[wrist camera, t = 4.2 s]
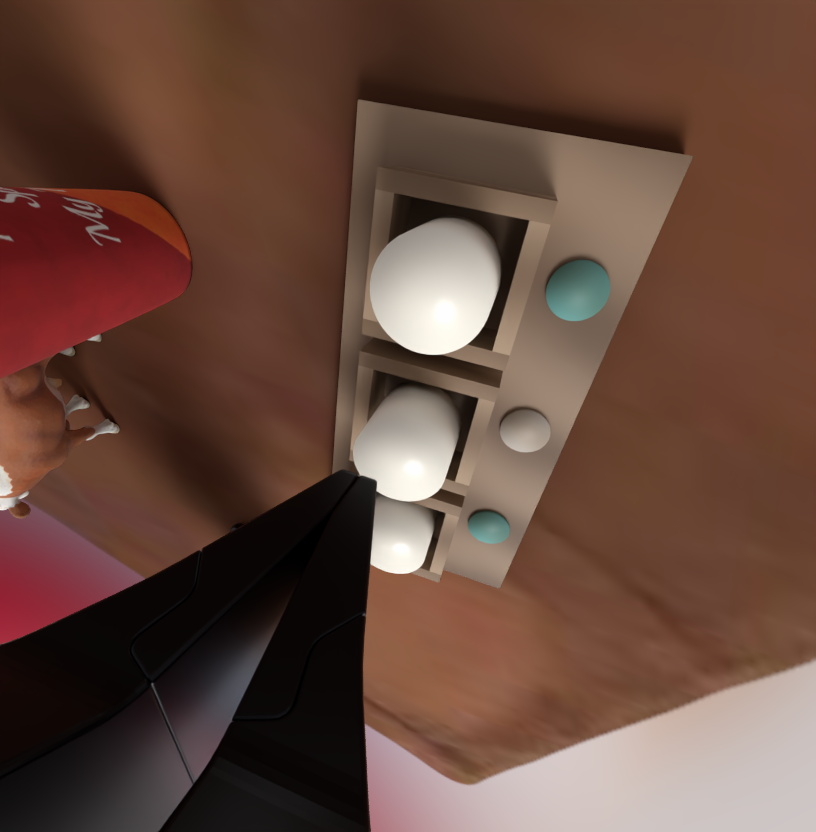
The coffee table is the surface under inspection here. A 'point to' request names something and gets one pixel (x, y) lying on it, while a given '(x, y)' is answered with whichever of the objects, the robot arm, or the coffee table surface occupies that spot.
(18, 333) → the paper cup
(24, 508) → the bull figurine
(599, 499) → the coffee table surface
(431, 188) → the board
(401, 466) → the button mid
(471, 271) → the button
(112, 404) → the coffee table surface
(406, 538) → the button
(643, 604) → the coffee table surface
